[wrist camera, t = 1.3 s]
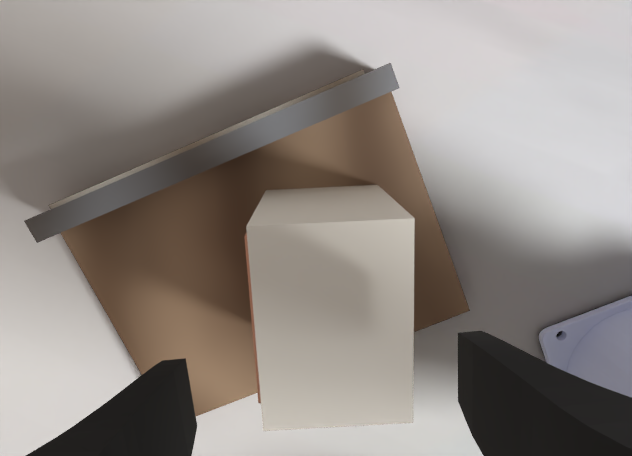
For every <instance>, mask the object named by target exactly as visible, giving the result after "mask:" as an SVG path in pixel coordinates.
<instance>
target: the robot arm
mask: <svg viewBox="0 0 632 456" xmlns="http://www.w3.org/2000/svg"><path fill="white" fill-rule="evenodd" d="M560 331H562V334H561V335H560V336H559V337H556V335H557V333H558V332H560ZM539 341H540V344H541V347H542V350H543V353H544V356H545V360H546V362H544V361H542V360H540V359H538V358H536V357H534V356H532V355H530V354H528V353H526V352H524V351H522V350H520V349H518V348H516V347H514V346H512V345H510V344H508V343H506V342H504V341H502V340H500V339H498V338H496V337H494V336H492V335H490V334H488V333H485V332H483V331H474V332H463V333H458V402H459V404H460V407H461V409H462V412H463V414H464V417H465V419H466V422H467V424H468V426H469V429H470V431H471V433H472V436H473V437H474V439H475V441H476V443H477V445H478V446H479V448H480V450H481V452H482V454H483V455H484V456H632V295H631V296H629V297H626V298H624V299H621V300H618V301H616V302H613V303H610V304H608V305H605V306H602V307H600V308H597V309H594V310H592V311H589V312H587V313H584V314H581V315H579V316H576V317H573V318H571V319H568V320H565V321H563V322H560V323H557V324H555V325H552V326H550V327H547V328H545V329H543V330H542V331H541V332H540V334H539ZM196 429H197V423H196V417H195V411H194V405H193V399H192V393H191V387H190V381H189V375H188V369H187V363H186V358H184V359H173V360H162V361H161V362H159V363H158V364H156V365H155V366H153V367H152V368H151V369H149V370H148V371H147V372H145V373H144V374H143V375H141V376H140V377H139V378H138V379H136V380H135V381H134V382H133V383H131V384H130V385H129V386H127V387H126V388H125V389H124V390H122V391H121V392H120V393H118V394H117V395H116V396H115V397H113V398H112V399H111V400H109V401H108V402H107V403H105V404H104V405H103V406H101V407H100V408H98V409H97V410H96V411H94V412H93V413H91V414H90V415H89V416H87V417H86V418H84V419H83V420H82V421H80V422H79V423H77V424H76V425H75V426H73V427H72V428H70V429H69V430H67V431H66V432H64V433H62V434H61V435H59V436H58V437H56V438H55V439H53V440H51V441H50V442H48V443H46V444H45V445H43V446H41V447H40V448H38V449H36V450H35V451H33V452H31V453H30V454H28V455H26V456H191V454H192V450H193V445H194V440H195V434H196Z"/></svg>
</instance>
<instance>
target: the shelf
mask: <svg viewBox="0 0 632 456" xmlns="http://www.w3.org/2000/svg"><path fill="white" fill-rule="evenodd" d="M398 88H399V85H398V82H397V79H396V77H395V74H394V71H393V68H392V65H391V63H389V64H387V65H384V66H382V67H380V68H377V69H375V70H373V71H370V72H368V73H366V74H365V73H364V70H360V71H358V72H356V73H353V74H351V75H349V76H347V77H344V78H342V79H340V80H337V81H335V82H333V83H330V84H328V85H326V86H323V87H321V88H319V89H317V90H314V91H312V92H310V93H307V94H305V95H303V96H300V97H298V98H296V99H293V100H291V101H289V102H286V103H284V104H282V105H280V106H277V107H275V108H273V109H270V110H268V111H266V112H263V113H261V114H259V115H256V116H254V117H252V118H249V119H247V120H245V121H243V122H240V123H238V124H236V125H233V126H231V127H229V128H226V129H224V130H222V131H219V132H217V133H215V134H212V135H210V136H208V137H206V138H203V139H201V140H199V141H196V142H194V143H192V144H189V145H187V146H185V147H182V148H180V149H178V150H175V151H173V152H171V153H169V154H166V155H164V156H162V157H159V158H157V159H155V160H152V161H150V162H148V163H145V164H143V165H141V166H139V167H136V168H134V169H132V170H129V171H127V172H125V173H122V174H120V175H118V176H115V177H113V178H111V179H108V180H106V181H104V182H102V183H99V184H97V185H95V186H92V187H90V188H88V189H85V190H83V191H81V192H78V193H76V194H74V195H71V196H69V197H67V198H65V199H62V200H60V201H58V202H55V203H53V204H51V205H49V207H50V209H51V210H48V211H46V212H44V213H41V214H39V215H37V216H35V217H32V218H30V219H28V220H25V221H24V222H25V223H26V225H27V227H28V228H29V230H30V232H31V233H32V235H33V237H34V238H35V240H36V242H37V243H38V242H40V241H42V240H45V239H47V238H49V237H52V236H54V235H56V234H59V233H61V235H62V236H63V238H64V240H65V242H66V243H67V245H68V247H69V249H70V250H71V252H72V254H73V256H74V257H75V259H76V261H77V263H78V264H79V266H80V268H81V269H82V271H83V273H84V275H85V276H86V278H87V280H88V282H89V283H90V285H91V287H92V289H93V290H94V292H95V294H96V296H97V297H98V299H99V301H100V303H101V304H102V306H103V308H104V310H105V311H106V313H107V315H108V317H109V318H110V320H111V322H112V324H113V325H114V327H115V329H116V331H117V332H118V334H119V336H120V338H121V339H122V341H123V343H124V344H125V346H126V348H127V350H128V351H129V353H130V355H131V357H132V358H133V360H134V362H135V364H136V365H137V367H138V369H139V371H140V372H141V374H142V375H143V374H144V373H145V372H147V371H148V370H149V369H151V368H152V367H153V366H155V365H156V364H158V363H159V362H161V361H162V360H173V359H184V358H186V363H187V369H188V375H189V381H190V387H191V393H192V399H193V405H194V411H195V416H198V415H201V414H203V413H206V412H208V411H211V410H213V409H216V408H219V407H221V406H224V405H226V404H229V403H232V402H234V401H237V400H239V399H242V398H245V397H247V396H250V395H252V394H255V393H258V390H257V379H256V367H255V355H254V344H253V332H252V320H251V308H250V297H249V285H248V273H247V261H246V250H245V238H244V236H245V234H246V232H247V230H246V226H247V224H248V222H249V220H250V219H251V217H252V215H253V213H254V211H255V209H256V208H257V206H258V204H259V202H260V200H261V199H262V197H263V195H264V193H265V191H266V190H280V189H301V188H322V187H342V186H363V185H378V186H380V187H381V188H382V189H383V190H384V191H385V192H386V193H387V194H388V195H389V196H391V197H392V198H393V199H394V200H395V201H396V202H397V203H398V204H399V205H401V206H402V207H403V208H404V209H405V210H406V211H407V212H408V213H409V214H410V215H412V216H413V217H414V218H415V229H414V332H416V331H418V330H421V329H423V328H426V327H429V326H431V325H434V324H436V323H439V322H441V321H444V320H447V319H449V318H452V317H454V316H457V315H460V314H462V313H465V312H467V311H470V310H469V307H468V304H467V301H466V299H465V296H464V293H463V290H462V287H461V285H460V282H459V279H458V276H457V274H456V271H455V268H454V265H453V262H452V260H451V257H450V254H449V251H448V248H447V246H446V243H445V240H444V237H443V235H442V232H441V229H440V226H439V223H438V221H437V218H436V215H435V212H434V209H433V207H432V204H431V201H430V198H429V196H428V193H427V190H426V187H425V184H424V182H423V179H422V176H421V173H420V170H419V168H418V165H417V162H416V159H415V157H414V154H413V151H412V148H411V145H410V143H409V140H408V137H407V134H406V131H405V129H404V126H403V123H402V120H401V117H400V115H399V112H398V109H397V106H396V104H395V101H394V98H393V95H392V92H391V91H394V90H396V89H398Z"/></svg>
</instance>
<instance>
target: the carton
mask: <svg viewBox="0 0 632 456" xmlns="http://www.w3.org/2000/svg"><path fill="white" fill-rule="evenodd" d="M414 229H415V218H414V217H413V216H412V215H410V214H409V213H408V212H407V211H406V210H405V209H404V208H403V207H402V206H401V205H399V204H398V203H397V202H396V201H395V200H394V199H393V198H392V197H391V196H389V195H388V194H387V193H386V192H385V191H384V190H383V189H382V188H381V187H380V186H378V185H363V186H342V187H322V188H301V189H280V190H266V191H265V193H264V195H263V197H262V199H261V200H260V202H259V204H258V206H257V208H256V209H255V211H254V213H253V215H252V217H251V219H250V220H249V222H248V224H247V226H246V230H247V232H246V234H245V236H244V238H245V250H246V261H247V273H248V285H249V297H250V308H251V320H252V332H253V344H254V355H255V367H256V379H257V390H258V402H259V403H261V409H262V421H263V431H273V430H291V429H309V428H328V427H346V426H364V425H383V424H401V423H413V370H414Z"/></svg>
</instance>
